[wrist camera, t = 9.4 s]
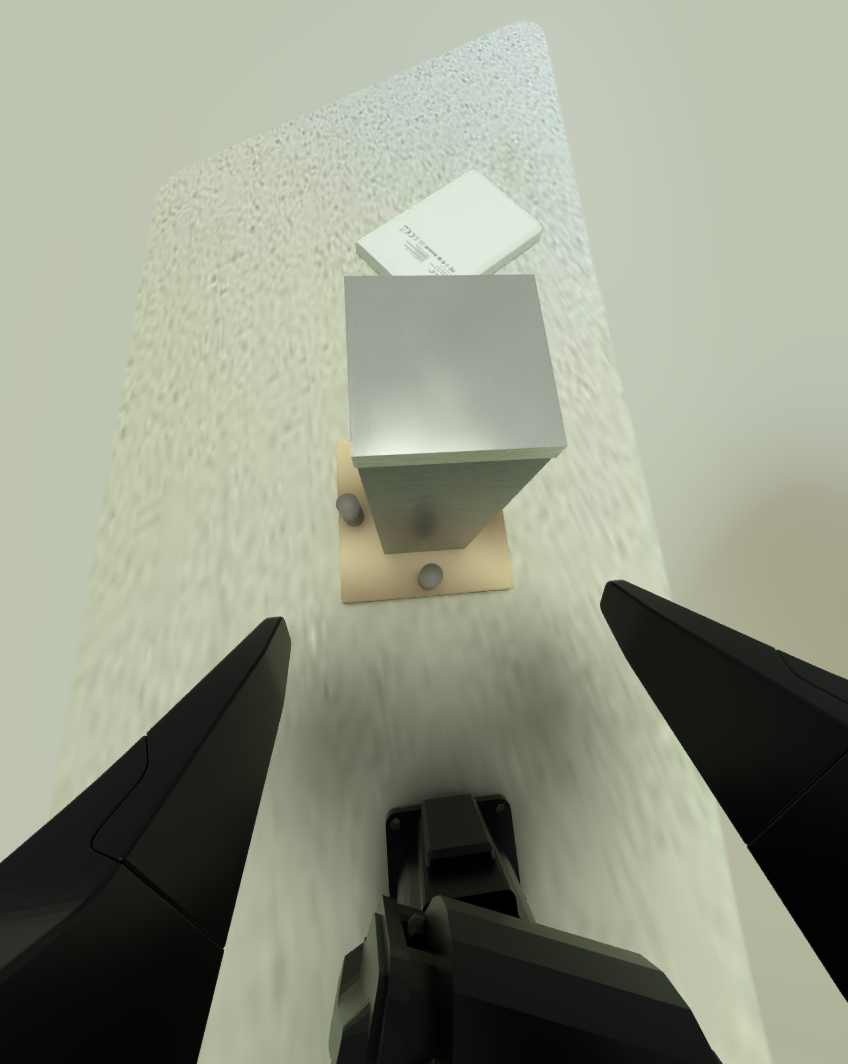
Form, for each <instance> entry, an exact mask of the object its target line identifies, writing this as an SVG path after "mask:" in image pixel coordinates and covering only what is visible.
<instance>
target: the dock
mask: <svg viewBox="0 0 848 1064" xmlns="http://www.w3.org/2000/svg"><path fill="white" fill-rule="evenodd" d="M336 446H337V476H338V499H337V502H336V507H337V509H338V511H339V535H340V565H341V594H342V603H354V602H366V601H377V600H388V599H400V598H411V597H423V596H434V595H445V594H457V593H468V592H480V591H491V590H502V589H511V588H514V585H513V578H512V571H511V565H510V558H509V551H508V544H507V537H506V530H505V524H504V517H503V510H501V511H500V512H499V514H498V515H497V516H496V517H495V518H494V519H493V520H492V521H491V522H490V523H489V524H488V525H487V526H486V527H485V528H484V529H483V530H482V531H481V532H480V533H479V534H478V535H477V536H476V538H475V539H474V540H473V541H472V542H471V543H470V544H469V545H468V546H467V547H466V548H465V549H454V550H440V551H426V552H412V553H398V554H384V552H383V549H382V545H381V542H380V539H379V536H378V533H377V529H376V526H375V523H374V520H373V517H372V513H371V510H370V507H369V504H368V501H367V497H366V494H365V491H364V488H363V485H362V481H361V478H360V475H359V472H358V469H357V468H354V465H353V462H352V459H351V448H350V441H342V442H336Z"/></svg>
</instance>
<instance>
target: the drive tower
mask: <svg viewBox="0 0 848 1064" xmlns="http://www.w3.org/2000/svg"><path fill="white" fill-rule="evenodd" d="M344 286H345V313H346V340H347V367H348V394H349V421H350V448H351V459H352V462H353V465H354V468H357V469H358V472H359V475H360V478H361V481H362V485H363V488H364V491H365V494H366V497H367V501H368V504H369V507H370V510H371V513H372V517H373V520H374V523H375V526H376V529H377V533H378V536H379V539H380V542H381V545H382V549H383V552H384V554H398V553H412V552H426V551H440V550H454V549H465V548H466V547H467V546H468V545H469V544H470V543H471V542H472V541H473V540H474V539H475V538H476V536H477V535H478V534H479V533H480V532H481V531H482V530H483V529H484V528H485V527H486V526H487V525H488V524H489V523H490V522H491V521H492V520H493V519H494V518H495V517H496V516H497V515H498V514H499V512H500V511H501V510H502V509H503V508H504V507H505V506H506V505H507V504H508V503H509V502H510V501H511V500H512V499H513V498H514V497H515V496H516V495H517V494H518V493H519V492H520V491H521V490H522V489H523V487H524V486H525V485H526V484H527V483H528V482H529V481H530V480H531V479H532V478H533V477H534V476H535V475H536V474H537V473H538V472H539V471H540V470H541V469H542V468H543V467H544V466H545V465H546V463H547V462H548V461H549V460H550V459H551V458H556V457H557V456H558V455H559V454H560V453H561V452H562V451H563V450H564V449H565V448H566V447H567V441H566V436H565V431H564V425H563V420H562V415H561V410H560V405H559V400H558V394H557V389H556V384H555V379H554V374H553V369H552V363H551V358H550V353H549V348H548V343H547V338H546V332H545V327H544V322H543V317H542V312H541V307H540V301H539V296H538V291H537V286H536V281H535V276H534V275H415V276H344Z"/></svg>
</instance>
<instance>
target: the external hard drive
mask: <svg viewBox="0 0 848 1064" xmlns="http://www.w3.org/2000/svg"><path fill="white" fill-rule="evenodd" d="M541 233H542V227H541V225H540V224H539V223H538V222H537V221H536V220H535V219H534V218H532V217H531V216H530V215H529V214H528V213H527V212H525V211H524V210H523V209H522V208H521V207H519V206H518V205H517V204H516V203H515V202H514V201H512V200H511V199H510V198H509V197H508V196H506V195H505V194H504V193H503V192H502V191H501V190H500V189H498V188H497V187H496V186H495V185H493V184H492V183H491V182H490V181H489V180H488V179H486V178H485V177H484V176H483V175H482V174H481V173H479V172H478V171H476V170H474V169H472V170H470V171H468V172H467V173H465V174H464V175H462V176H460V177H459V178H457V179H456V180H454V181H452V182H451V183H449V184H448V185H446V186H445V187H443V188H441V189H440V190H438V191H437V192H435V193H433V194H432V195H430V196H429V197H427V198H425V199H424V200H422V201H420V202H419V203H417V204H416V205H414V206H413V207H411V208H409V209H408V210H406V211H405V212H403V213H401V214H400V215H398V216H397V217H395V218H393V219H392V220H390V221H389V222H387V223H385V224H384V225H382V226H381V227H379V228H378V229H376V230H374V231H373V232H371V233H370V234H368V235H366V236H364V237H363V238H361V239H360V240H358V241H357V242H355V245H356V252H357V253H358V254H359V255H360V256H361V257H362V258H363V259H364V260H365V261H366V262H367V263H368V264H369V265H370V266H371V267H372V268H373V269H374V270H375V271H376V272H378V273H379V274H380V275H381V276H415V275H491V274H493V273H494V272H496V271H497V270H498V269H500V268H501V267H503V266H504V265H506V264H507V263H508V262H510V261H511V260H513V259H514V258H515V257H517V256H518V255H520V254H521V253H522V252H524V251H525V250H527V249H528V248H529V247H531V246H532V245H533V244H535V243H536V242H538V241H539V239H540V236H541Z"/></svg>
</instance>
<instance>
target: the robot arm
mask: <svg viewBox="0 0 848 1064" xmlns="http://www.w3.org/2000/svg"><path fill="white" fill-rule="evenodd" d="M600 608H601V611H602V613H603V615H604V617H605V619H606V621H607V623H608V625H609V627H610V629H611V631H612V633H613V635H614V637H615V639H616V641H617V643H618V645H619V647H620V648H621V650H622V652H623V654H624V656H625V658H626V659H627V661H628V663H629V664H630V666H631V668H632V669H633V671H634V672H635V674H636V675H637V677H638V678H639V680H640V681H641V683H642V685H643V686H644V688H645V689H646V691H647V692H648V694H649V695H650V697H651V699H652V700H653V702H654V703H655V705H656V706H657V708H658V709H659V711H660V712H661V714H662V716H663V717H664V719H665V720H666V722H667V723H668V725H669V726H670V728H671V730H672V731H673V733H674V734H675V736H676V737H677V739H678V740H679V742H680V744H681V745H682V747H683V748H684V750H685V751H686V753H687V754H688V756H689V757H690V759H691V761H692V762H693V764H694V765H695V767H696V768H697V770H698V771H699V773H700V775H701V776H702V778H703V779H704V781H705V782H706V784H707V785H708V787H709V789H710V790H711V792H712V793H713V795H714V796H715V798H716V799H717V801H718V802H719V804H720V806H721V807H722V809H723V810H724V812H725V813H726V815H727V816H728V818H729V820H730V821H731V823H732V824H733V826H734V827H735V829H736V830H737V832H738V833H739V835H740V837H741V838H742V840H743V841H744V843H745V844H747V848H748V849H749V851H750V852H751V854H752V856H753V857H754V859H755V860H756V862H757V863H758V865H759V866H760V868H761V870H762V871H763V872H764V874H765V876H766V877H767V879H768V880H769V882H770V884H771V885H772V886H773V888H774V890H775V891H776V893H777V894H778V896H779V898H780V899H781V901H782V902H783V904H784V905H785V907H786V908H787V910H788V911H789V913H790V914H791V916H792V917H793V919H794V921H795V922H796V924H797V925H798V927H799V928H800V930H801V932H802V933H803V935H804V936H805V938H806V939H807V941H808V943H809V944H810V946H811V947H812V949H813V950H814V952H815V953H816V955H817V957H818V958H819V960H820V961H821V963H822V964H823V966H824V967H825V969H826V971H827V972H828V974H829V975H830V977H831V978H832V980H833V981H834V983H835V984H836V986H837V988H838V989H839V991H840V992H841V994H842V995H843V997H844V998H845V1000H846V1001H847V1002H848V680H847V679H845V678H842V677H840V676H837V675H835V674H832V673H830V672H828V671H825V670H823V669H821V668H818V667H816V666H814V665H812V664H809V663H807V662H805V661H803V660H800V659H798V658H795V657H794V656H791V655H789V654H787V653H785V652H782V651H780V650H775V648H773V647H771V646H769V645H767V644H764V643H762V642H760V641H758V640H756V639H753V638H751V637H749V636H747V635H745V634H742V633H740V632H738V631H736V630H733V629H731V628H729V627H727V626H725V625H722V624H720V623H718V622H715V621H713V620H711V619H709V618H707V617H704V616H702V615H700V614H698V613H696V612H693V611H691V610H689V609H687V608H684V607H682V606H680V605H677V604H676V603H673V602H671V601H669V600H667V599H664V598H662V597H660V596H658V595H656V594H653V593H651V592H649V591H647V590H644V589H642V588H640V587H638V586H636V585H633V584H631V583H629V582H627V581H624V580H614V581H609V582H607V583H606V585H605V588H604V592H603V595H602V598H601V602H600ZM290 651H291V639H290V635H289V632H288V629H287V626H286V622H285V620H284V618H283V617H270V618H266V619H265V620H264V621H262V622H261V623H260V624H259V625H258V626H257V627H256V628H255V629H254V630H253V631H252V632H251V633H250V634H249V635H248V636H247V637H246V638H245V639H244V640H243V641H242V642H241V643H240V644H239V645H238V646H236V647H235V648H234V649H233V650H232V651H231V652H230V653H229V654H228V655H227V656H226V657H225V658H224V659H223V660H222V661H221V662H220V663H219V664H218V665H217V666H216V667H215V668H214V669H213V670H211V671H210V672H209V673H208V674H207V675H206V676H205V677H204V678H203V679H202V680H201V681H200V682H199V683H198V684H197V685H196V686H195V687H194V688H193V689H192V690H191V691H190V692H189V693H188V694H186V695H185V696H184V697H183V698H182V699H181V700H180V701H179V702H178V703H177V704H176V705H175V706H174V707H173V708H172V709H171V710H170V711H169V712H168V713H167V714H166V715H165V716H164V717H163V718H162V719H160V720H159V721H158V722H157V723H156V724H155V725H154V726H153V727H152V728H151V729H150V730H149V731H148V732H147V736H143V737H142V738H141V739H139V740H138V741H137V742H136V743H135V744H134V745H133V746H132V747H131V748H130V749H129V750H128V751H127V752H126V753H125V754H124V755H123V756H122V757H121V758H119V759H118V760H117V761H116V762H115V763H114V764H113V765H112V766H111V767H110V768H109V769H108V770H107V771H106V772H104V773H103V774H102V775H101V776H100V777H99V778H98V779H97V780H96V781H95V782H93V783H92V784H91V785H90V786H89V787H88V788H87V789H85V790H84V791H83V792H82V793H81V794H80V795H79V796H78V797H76V798H75V799H74V800H73V801H72V802H71V803H70V804H68V805H67V806H66V807H65V808H64V809H63V810H62V811H60V812H59V813H58V814H57V815H56V816H55V817H53V818H52V819H51V820H50V821H49V822H47V823H46V824H45V825H44V826H43V827H42V828H40V829H39V830H38V831H37V832H36V833H35V834H34V835H32V836H31V837H30V838H29V839H28V840H26V841H25V842H24V843H23V844H22V845H21V846H19V847H18V848H17V849H16V850H15V851H14V852H13V853H11V854H10V855H9V856H8V857H7V858H6V859H4V860H3V861H2V862H1V863H0V1064H197V1061H198V1057H199V1053H200V1049H201V1045H202V1040H203V1036H204V1032H205V1028H206V1024H207V1020H208V1016H209V1012H210V1007H211V1003H212V999H213V995H214V991H215V987H216V983H217V979H218V974H219V970H220V966H221V962H222V958H223V954H224V949H223V948H224V947H225V945H226V941H227V936H228V932H229V928H230V924H231V920H232V916H233V912H234V908H235V903H236V899H237V895H238V891H239V887H240V883H241V879H242V875H243V871H244V866H245V862H246V858H247V854H248V850H249V846H250V842H251V838H252V833H253V829H254V825H255V821H256V817H257V813H258V809H259V805H260V801H261V796H262V792H263V788H264V784H265V780H266V776H267V772H268V768H269V763H270V759H271V755H272V751H273V747H274V743H275V739H276V735H277V731H278V726H279V722H280V718H281V714H282V709H283V705H284V699H285V691H286V683H287V675H288V667H289V659H290ZM499 804H503V805H504V808H503V809H502V810H501V811H497V806H498V805H499ZM395 818H396V819H399V820H400V823H399V824H398V825H393V824H392V823H391V821H392V820H393V819H395ZM386 839H387V857H388V876H389V894H390V897H387V896H384V895H382V896H381V900H380V903H379V907H378V911H377V913H374V915H373V918H372V922H371V925H370V928H369V932H368V935H367V937H365V939H364V942H363V943H362V944H361V945H359V946H358V947H357V948H355V949H354V950H352V951H351V952H350V953H348V954H347V955H346V956H345V958H344V961H343V965H342V969H341V973H340V976H339V981H338V987H337V993H336V999H335V1004H334V1010H333V1016H332V1022H331V1029H330V1036H329V1052H330V1058H331V1064H722V1062H721V1061H720V1059H719V1058H718V1056H717V1055H716V1054H715V1052H714V1051H713V1050H712V1049H711V1047H710V1045H709V1043H708V1042H707V1040H706V1038H705V1036H704V1034H703V1032H702V1030H701V1028H700V1026H699V1024H698V1022H697V1020H696V1019H695V1017H694V1015H693V1013H692V1011H691V1009H690V1008H689V1007H688V1005H687V1004H686V1002H685V1001H684V1000H683V998H682V997H681V996H680V994H679V993H678V992H677V990H676V989H675V988H674V986H673V985H672V983H671V982H670V981H669V979H668V978H667V977H666V975H665V974H664V973H663V972H662V971H661V970H660V969H659V968H657V967H656V966H655V965H653V964H652V963H651V962H649V961H648V960H647V959H646V958H644V957H643V956H642V955H640V954H638V953H635V952H631V951H628V950H624V949H621V948H618V947H614V946H611V945H608V944H604V943H601V942H597V941H594V940H591V939H587V938H584V937H580V936H577V935H574V934H570V933H567V932H564V931H560V930H557V929H553V928H550V927H547V926H543V925H540V924H537V923H536V921H535V919H534V916H533V914H532V912H531V909H530V907H529V905H528V903H527V900H526V898H525V896H524V893H523V891H522V889H521V886H520V878H519V870H518V862H517V854H516V846H515V838H514V831H513V823H512V815H511V808H510V804H509V802H508V801H507V799H506V798H505V797H504V796H502V795H491V796H484V797H477V798H474V797H473V796H471V795H470V794H468V795H460V796H453V797H446V798H438V799H431V800H425V801H424V802H423V804H422V805H418V806H411V807H403V808H396V809H393V810H391V811H390V812H389V813H388V815H387V818H386Z"/></svg>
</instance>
